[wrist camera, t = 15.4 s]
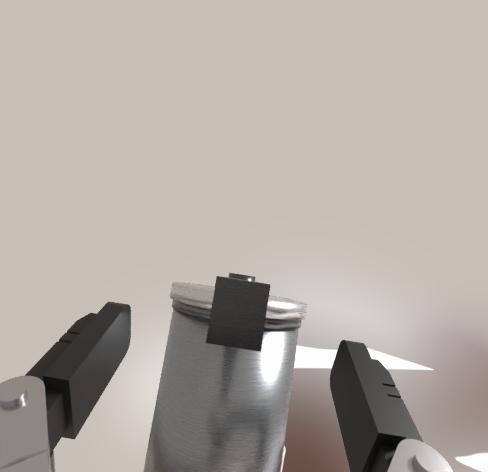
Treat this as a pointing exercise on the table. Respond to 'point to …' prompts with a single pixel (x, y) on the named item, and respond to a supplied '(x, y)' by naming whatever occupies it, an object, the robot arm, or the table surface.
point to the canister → (221, 399)
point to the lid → (238, 309)
